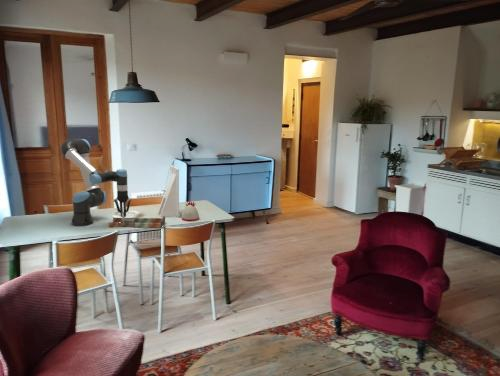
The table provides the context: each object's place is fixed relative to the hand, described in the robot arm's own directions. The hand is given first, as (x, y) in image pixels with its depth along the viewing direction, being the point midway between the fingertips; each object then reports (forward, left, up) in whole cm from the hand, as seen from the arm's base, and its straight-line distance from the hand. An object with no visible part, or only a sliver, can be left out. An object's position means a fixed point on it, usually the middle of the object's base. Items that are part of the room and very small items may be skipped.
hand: (123, 220), depth 306 cm
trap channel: (+10, 0, -3) cm, 10 cm away
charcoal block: (+4, 0, -3) cm, 5 cm away
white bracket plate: (+29, +29, -3) cm, 41 cm away
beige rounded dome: (+49, +18, -4) cm, 52 cm away
